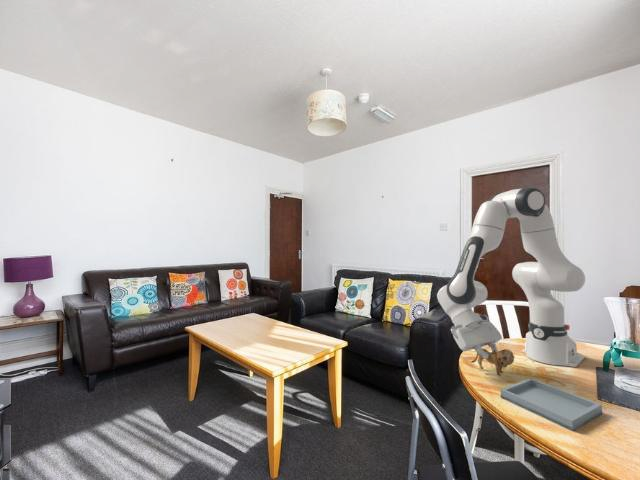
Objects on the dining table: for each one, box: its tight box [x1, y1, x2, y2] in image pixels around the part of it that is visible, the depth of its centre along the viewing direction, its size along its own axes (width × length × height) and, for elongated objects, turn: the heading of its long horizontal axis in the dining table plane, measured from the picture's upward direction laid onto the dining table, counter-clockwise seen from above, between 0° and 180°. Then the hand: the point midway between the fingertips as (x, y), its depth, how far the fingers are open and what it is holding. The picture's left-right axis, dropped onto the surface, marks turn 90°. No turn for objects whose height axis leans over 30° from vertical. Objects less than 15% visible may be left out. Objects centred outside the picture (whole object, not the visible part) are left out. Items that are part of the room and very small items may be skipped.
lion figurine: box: [470, 348, 515, 377], centre depth 104 cm, size 15×5×9 cm, turn 35°
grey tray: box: [500, 377, 603, 432], centre depth 84 cm, size 16×18×2 cm
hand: (492, 356), depth 104 cm, fingers closed on lion figurine, 4 cm apart
